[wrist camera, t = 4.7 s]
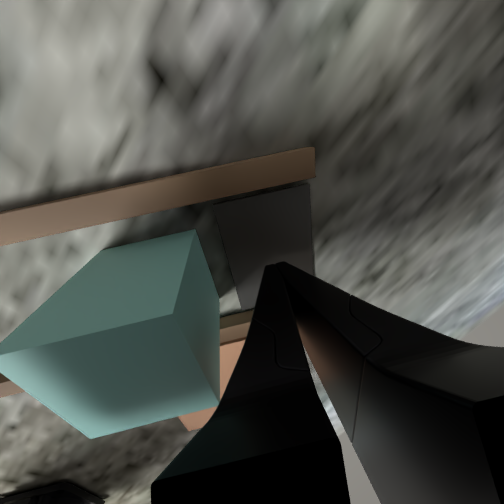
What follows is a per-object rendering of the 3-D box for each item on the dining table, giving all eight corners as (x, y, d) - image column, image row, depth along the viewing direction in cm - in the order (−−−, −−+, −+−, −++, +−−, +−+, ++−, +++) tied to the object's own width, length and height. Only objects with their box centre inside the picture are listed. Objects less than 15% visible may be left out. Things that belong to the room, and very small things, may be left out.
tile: (291, 391, 16) (295, 402, 15) (190, 418, 16) (188, 431, 15) (280, 319, 12) (284, 330, 11) (144, 352, 12) (139, 366, 11)
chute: (313, 308, 12) (319, 318, 11) (-4, 385, 11) (-19, 402, 11) (306, 147, 8) (314, 147, 7) (-196, 253, 7) (-241, 265, 6)
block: (219, 298, 11) (220, 405, 6) (143, 316, 11) (90, 439, 6) (195, 228, 9) (172, 313, 4) (101, 249, 9) (-18, 359, 4)
